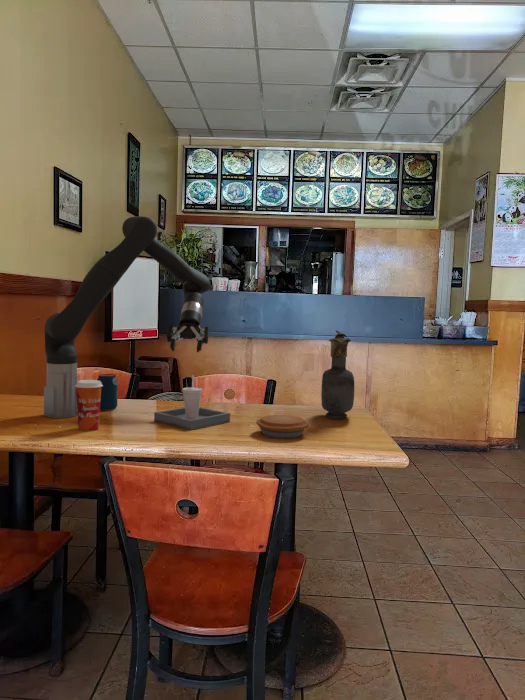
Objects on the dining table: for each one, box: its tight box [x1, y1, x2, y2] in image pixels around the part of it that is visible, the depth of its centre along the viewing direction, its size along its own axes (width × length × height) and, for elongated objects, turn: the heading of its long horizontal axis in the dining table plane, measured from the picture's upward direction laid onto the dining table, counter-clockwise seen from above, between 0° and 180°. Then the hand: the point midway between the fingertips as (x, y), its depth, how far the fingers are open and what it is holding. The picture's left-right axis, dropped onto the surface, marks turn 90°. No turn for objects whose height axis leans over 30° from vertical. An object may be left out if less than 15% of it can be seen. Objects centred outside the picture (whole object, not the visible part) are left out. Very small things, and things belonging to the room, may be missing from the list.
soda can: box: [96, 373, 119, 411], centre depth 183 cm, size 7×7×12 cm
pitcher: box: [320, 330, 355, 420], centre depth 182 cm, size 11×19×30 cm, turn 176°
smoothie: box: [182, 374, 203, 420], centre depth 167 cm, size 6×6×14 cm
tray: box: [153, 406, 231, 431], centre depth 167 cm, size 17×17×3 cm
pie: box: [255, 414, 310, 440], centre depth 154 cm, size 16×16×5 cm
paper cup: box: [75, 379, 103, 432], centre depth 153 cm, size 8×8×14 cm
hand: (185, 350), depth 178 cm, fingers open, 8 cm apart
